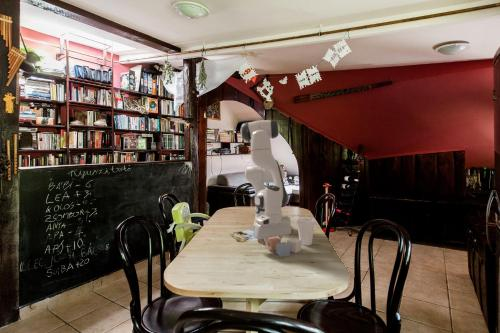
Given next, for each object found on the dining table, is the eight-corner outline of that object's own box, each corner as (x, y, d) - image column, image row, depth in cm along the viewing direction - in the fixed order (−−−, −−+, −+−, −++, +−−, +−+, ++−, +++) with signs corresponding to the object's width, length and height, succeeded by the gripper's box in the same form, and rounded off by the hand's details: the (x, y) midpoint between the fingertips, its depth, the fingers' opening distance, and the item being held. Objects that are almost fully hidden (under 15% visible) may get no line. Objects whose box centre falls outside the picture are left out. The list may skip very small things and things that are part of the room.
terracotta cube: (274, 245, 151) (274, 236, 151) (279, 248, 147) (279, 239, 146) (266, 247, 149) (266, 237, 149) (271, 250, 145) (271, 240, 144)
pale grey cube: (292, 247, 149) (292, 238, 148) (301, 250, 145) (301, 240, 145) (287, 250, 145) (287, 240, 145) (295, 252, 142) (295, 242, 141)
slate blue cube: (285, 251, 143) (285, 242, 143) (289, 255, 138) (290, 245, 138) (276, 253, 142) (276, 243, 141) (280, 257, 137) (280, 246, 136)
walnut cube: (265, 240, 159) (265, 231, 159) (270, 243, 155) (270, 234, 155) (257, 242, 156) (257, 233, 156) (263, 245, 152) (263, 235, 152)
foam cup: (304, 247, 148) (304, 222, 147) (293, 242, 157) (293, 218, 156) (318, 244, 153) (318, 220, 152) (307, 239, 161) (307, 216, 160)
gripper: (286, 214, 154) (286, 239, 155) (252, 219, 145) (252, 246, 146) (293, 217, 149) (293, 243, 150) (258, 222, 139) (258, 250, 140)
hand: (273, 244), depth 148 cm, fingers closed on terracotta cube, 5 cm apart
